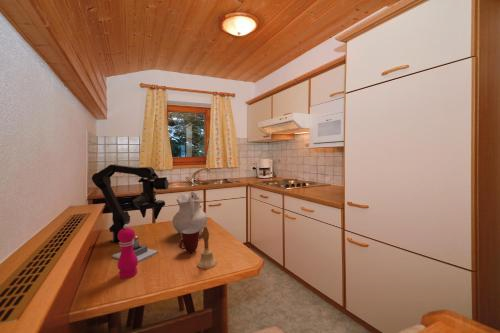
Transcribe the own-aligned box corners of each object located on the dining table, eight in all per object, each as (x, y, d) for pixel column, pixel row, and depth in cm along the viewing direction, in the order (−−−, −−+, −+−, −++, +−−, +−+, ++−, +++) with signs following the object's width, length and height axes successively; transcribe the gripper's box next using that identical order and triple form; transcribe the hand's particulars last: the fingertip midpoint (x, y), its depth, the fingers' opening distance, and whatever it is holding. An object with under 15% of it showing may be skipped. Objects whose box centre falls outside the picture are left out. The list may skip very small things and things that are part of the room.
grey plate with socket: (112, 257, 109) (112, 249, 109) (135, 247, 119) (135, 240, 119) (135, 264, 102) (135, 256, 101) (158, 253, 112) (157, 246, 112)
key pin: (130, 253, 110) (129, 236, 109) (136, 251, 113) (135, 234, 112) (134, 254, 108) (133, 237, 108) (141, 252, 111) (139, 235, 111)
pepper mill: (123, 270, 96) (120, 222, 95) (141, 269, 97) (139, 221, 96) (114, 279, 89) (111, 227, 88) (134, 278, 90) (131, 226, 88)
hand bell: (207, 270, 95) (206, 231, 94) (193, 265, 99) (191, 228, 98) (221, 262, 102) (219, 225, 101) (206, 258, 106) (205, 223, 105)
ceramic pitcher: (214, 239, 132) (215, 194, 132) (179, 244, 121) (181, 196, 121) (199, 229, 150) (200, 190, 149) (167, 233, 139) (169, 191, 138)
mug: (188, 258, 106) (187, 236, 105) (174, 255, 110) (174, 234, 109) (203, 249, 115) (202, 229, 115) (190, 246, 119) (189, 227, 119)
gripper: (123, 191, 126) (125, 220, 126) (148, 193, 117) (149, 224, 118) (141, 188, 135) (142, 215, 136) (165, 190, 127) (166, 218, 128)
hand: (149, 218), depth 129 cm, fingers open, 9 cm apart
